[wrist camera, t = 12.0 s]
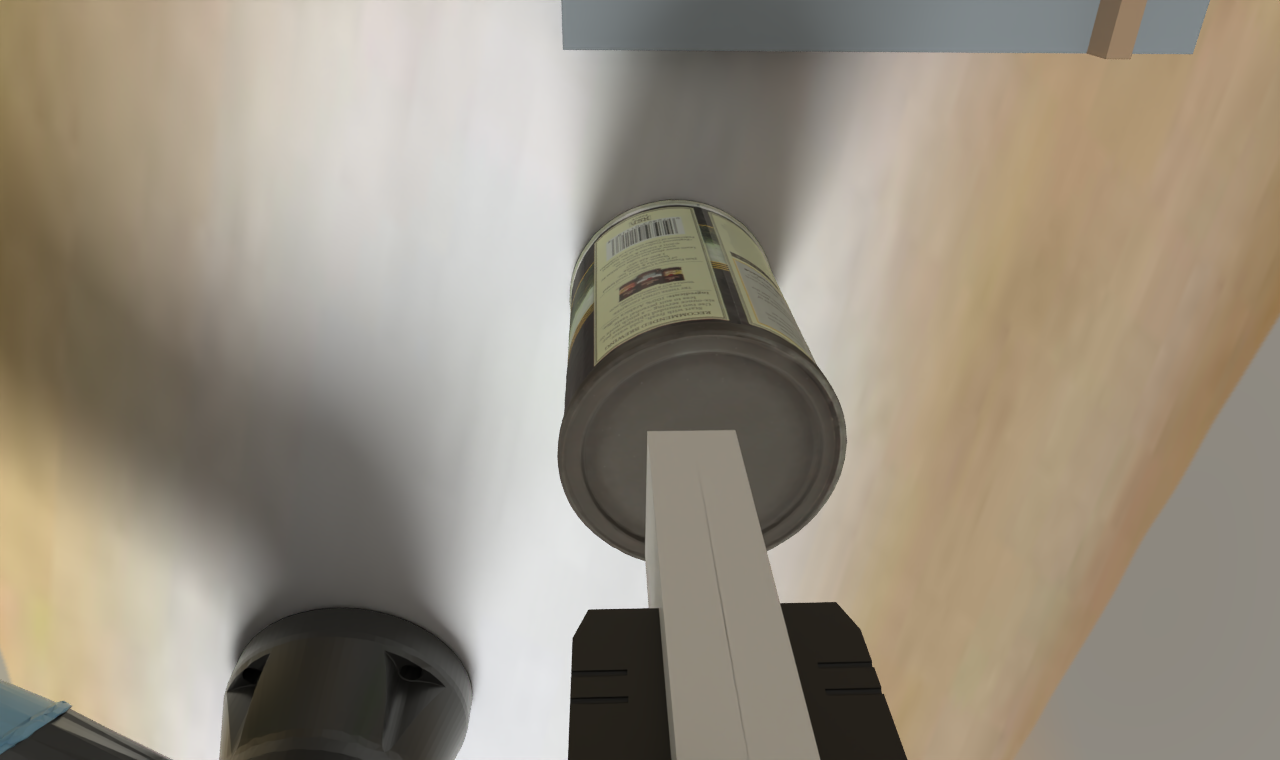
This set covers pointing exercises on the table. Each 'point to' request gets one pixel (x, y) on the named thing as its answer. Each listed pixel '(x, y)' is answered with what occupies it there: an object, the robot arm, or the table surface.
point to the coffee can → (690, 371)
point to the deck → (887, 26)
